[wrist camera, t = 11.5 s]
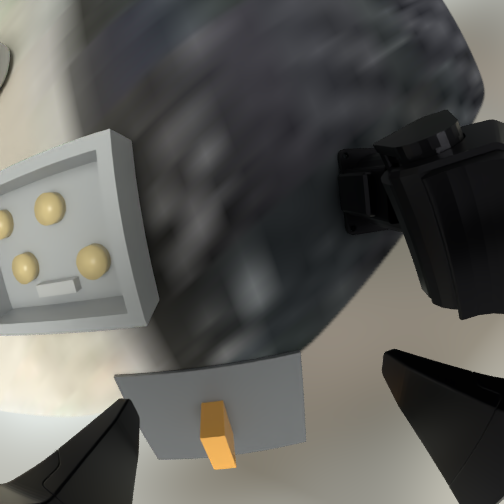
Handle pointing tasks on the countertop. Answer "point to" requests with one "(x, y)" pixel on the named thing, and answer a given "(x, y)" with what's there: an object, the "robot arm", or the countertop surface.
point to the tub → (74, 241)
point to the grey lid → (220, 408)
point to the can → (4, 62)
